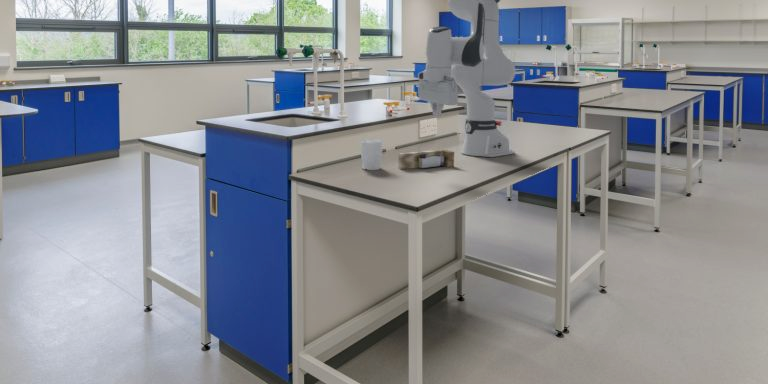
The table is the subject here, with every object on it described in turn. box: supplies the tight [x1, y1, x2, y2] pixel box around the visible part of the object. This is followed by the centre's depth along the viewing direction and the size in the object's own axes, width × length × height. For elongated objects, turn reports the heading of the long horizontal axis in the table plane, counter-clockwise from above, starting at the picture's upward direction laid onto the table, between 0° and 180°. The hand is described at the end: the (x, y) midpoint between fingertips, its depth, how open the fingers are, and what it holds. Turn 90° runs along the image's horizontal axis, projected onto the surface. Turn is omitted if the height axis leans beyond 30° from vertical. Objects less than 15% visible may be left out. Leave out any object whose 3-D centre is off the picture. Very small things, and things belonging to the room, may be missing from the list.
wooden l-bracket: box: [397, 148, 455, 170], centre depth 228 cm, size 20×6×6 cm, turn 118°
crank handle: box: [418, 153, 445, 169], centre depth 227 cm, size 11×3×5 cm, turn 123°
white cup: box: [360, 139, 383, 171], centre depth 224 cm, size 8×8×10 cm
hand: (436, 115), depth 216 cm, fingers closed
